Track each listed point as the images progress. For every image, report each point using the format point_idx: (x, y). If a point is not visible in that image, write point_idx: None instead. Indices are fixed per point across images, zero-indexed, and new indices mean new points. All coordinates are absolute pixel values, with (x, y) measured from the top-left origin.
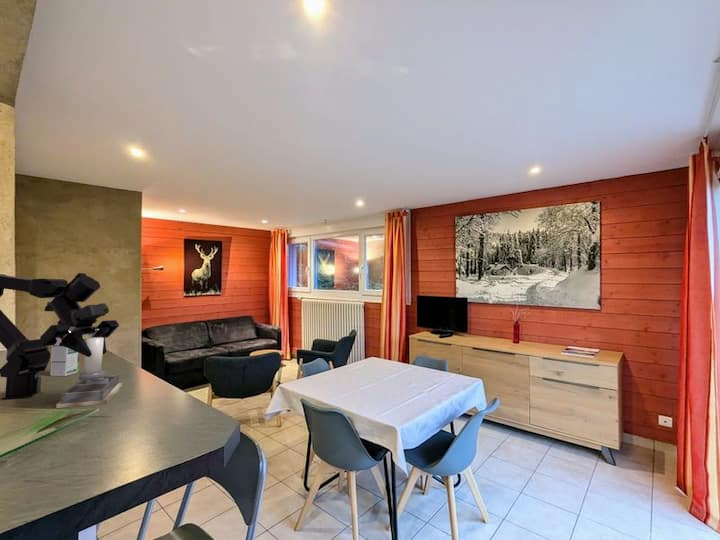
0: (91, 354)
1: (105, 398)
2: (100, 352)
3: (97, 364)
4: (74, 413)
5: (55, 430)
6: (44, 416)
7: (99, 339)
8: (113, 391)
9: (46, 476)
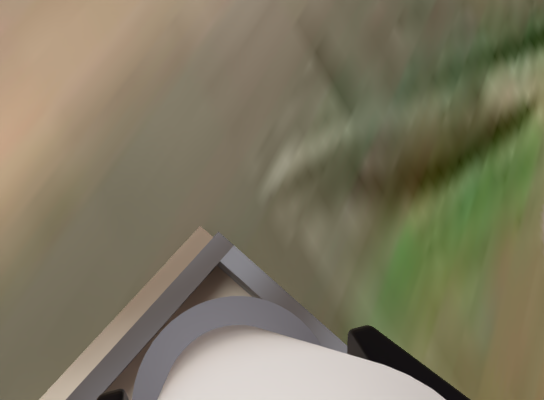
0: (351, 331)
1: (189, 260)
2: (221, 345)
3: (240, 327)
4: (367, 211)
5: (493, 64)
6: (459, 293)
7: (303, 357)
8: (59, 385)
9: None
